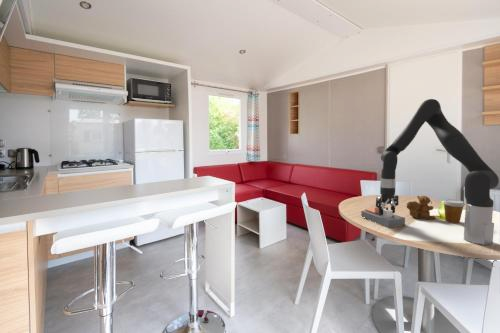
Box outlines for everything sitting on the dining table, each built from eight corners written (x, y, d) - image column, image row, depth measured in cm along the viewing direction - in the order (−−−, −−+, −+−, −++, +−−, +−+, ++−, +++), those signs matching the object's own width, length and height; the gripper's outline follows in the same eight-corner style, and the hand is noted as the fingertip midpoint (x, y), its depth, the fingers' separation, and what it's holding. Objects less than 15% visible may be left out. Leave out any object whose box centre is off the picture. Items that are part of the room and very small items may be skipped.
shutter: (385, 212, 149) (385, 206, 149) (375, 213, 147) (376, 207, 147) (373, 208, 157) (374, 203, 157) (365, 210, 155) (365, 204, 155)
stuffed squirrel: (437, 219, 147) (438, 197, 146) (413, 220, 147) (414, 198, 146) (425, 214, 157) (426, 194, 156) (403, 215, 157) (404, 194, 156)
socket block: (404, 224, 140) (405, 217, 139) (388, 227, 136) (388, 220, 136) (376, 214, 159) (376, 208, 158) (361, 217, 155) (361, 210, 155)
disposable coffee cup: (451, 218, 149) (452, 198, 148) (467, 223, 139) (469, 202, 138) (437, 219, 147) (438, 199, 146) (453, 225, 138) (454, 203, 137)
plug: (386, 220, 147) (386, 206, 146) (392, 222, 143) (392, 208, 142) (380, 220, 146) (381, 207, 145) (386, 223, 142) (387, 208, 141)
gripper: (391, 184, 148) (390, 210, 150) (372, 186, 143) (371, 213, 145) (403, 186, 141) (402, 214, 143) (383, 188, 136) (382, 217, 138)
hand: (386, 213), depth 144 cm, fingers open, 8 cm apart
